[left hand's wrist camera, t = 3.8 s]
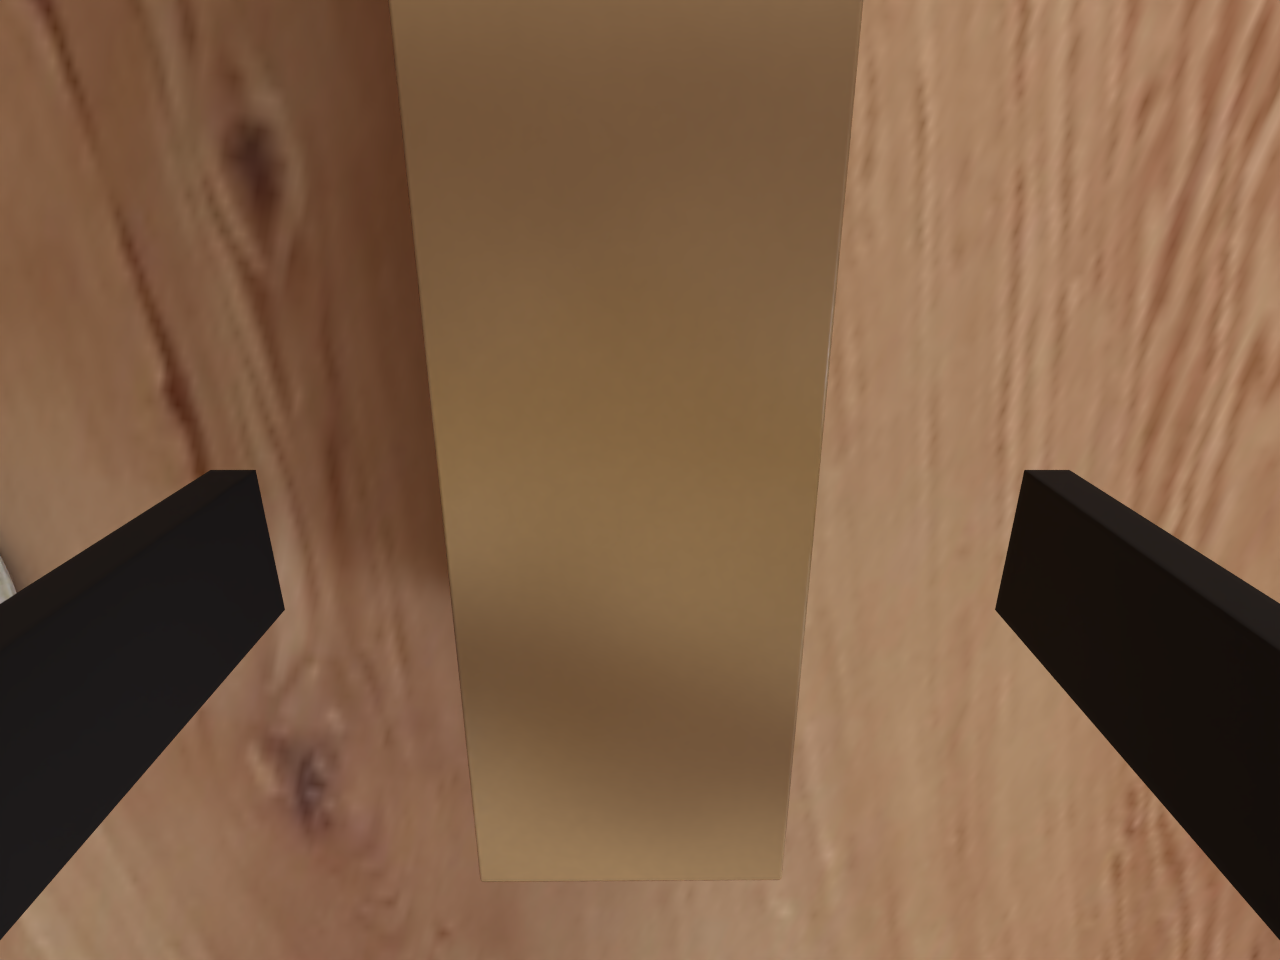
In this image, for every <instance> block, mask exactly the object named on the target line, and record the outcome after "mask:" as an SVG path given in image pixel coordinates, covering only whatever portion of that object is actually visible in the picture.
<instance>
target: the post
mask: <svg viewBox="0 0 1280 960" xmlns="http://www.w3.org/2000/svg"><path fill="white" fill-rule="evenodd" d="M388 2H389V12H390V21H391V31H392V40H393V50H394V59H395V69H396V78H397V88H398V98H399V107H400V117H401V126H402V136H403V145H404V155H405V164H406V174H407V183H408V193H409V203H410V212H411V222H412V231H413V241H414V250H415V260H416V269H417V279H418V288H419V298H420V307H421V317H422V327H423V336H424V346H425V355H426V365H427V374H428V384H429V393H430V403H431V412H432V422H433V432H434V441H435V451H436V460H437V470H438V479H439V489H440V498H441V508H442V517H443V527H444V537H445V546H446V556H447V565H448V575H449V584H450V594H451V603H452V613H453V622H454V632H455V642H456V651H457V661H458V670H459V680H460V689H461V699H462V708H463V718H464V727H465V737H466V747H467V756H468V766H469V775H470V785H471V794H472V804H473V813H474V823H475V832H476V842H477V852H478V861H479V871H480V879H481V881H482V882H542V881H693V880H780V879H781V878H782V870H783V859H784V848H785V837H786V826H787V816H788V805H789V794H790V783H791V773H792V762H793V751H794V740H795V729H796V719H797V708H798V697H799V686H800V676H801V665H802V654H803V643H804V633H805V622H806V611H807V600H808V589H809V579H810V568H811V557H812V546H813V536H814V525H815V514H816V503H817V492H818V482H819V471H820V460H821V449H822V439H823V428H824V417H825V406H826V395H827V385H828V374H829V363H830V352H831V342H832V331H833V320H834V309H835V298H836V288H837V277H838V266H839V255H840V245H841V234H842V223H843V212H844V202H845V191H846V180H847V169H848V158H849V148H850V137H851V126H852V115H853V105H854V94H855V83H856V72H857V61H858V51H859V40H860V29H861V18H862V8H863V0H388Z"/></svg>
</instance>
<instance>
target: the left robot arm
mask: <svg viewBox="0 0 1280 960" xmlns="http://www.w3.org/2000/svg"><path fill="white" fill-rule="evenodd" d="M284 610H285V608H284V603H283V599H282V594H281V589H280V584H279V579H278V575H277V570H276V565H275V560H274V556H273V551H272V546H271V541H270V537H269V532H268V527H267V522H266V518H265V513H264V508H263V503H262V499H261V494H260V489H259V484H258V480H257V475H256V470H210V471H208V472H207V473H205V474H204V475H202V476H201V477H199V478H197V479H196V480H194V481H193V482H191V483H190V484H188V485H186V486H185V487H183V488H182V489H180V490H179V491H177V492H175V493H174V494H172V495H171V496H169V497H167V498H166V499H164V500H163V501H161V502H160V503H158V504H156V505H155V506H153V507H152V508H150V509H149V510H147V511H145V512H144V513H142V514H141V515H139V516H138V517H136V518H134V519H133V520H131V521H130V522H128V523H127V524H125V525H123V526H122V527H120V528H119V529H117V530H116V531H114V532H112V533H111V534H109V535H108V536H106V537H104V538H103V539H101V540H100V541H98V542H97V543H95V544H93V545H92V546H90V547H89V548H87V549H86V550H84V551H82V552H81V553H79V554H78V555H76V556H75V557H73V558H71V559H70V560H68V561H67V562H65V563H64V564H62V565H60V566H59V567H57V568H56V569H54V570H53V571H51V572H49V573H48V574H46V575H45V576H43V577H42V578H40V579H38V580H37V581H35V582H34V583H32V584H30V585H29V586H27V587H26V588H24V589H23V590H21V591H19V592H18V593H16V594H15V595H13V596H12V597H10V598H8V599H7V600H5V601H4V602H2V603H1V604H0V940H1V939H2V937H3V936H4V935H5V934H6V933H7V932H8V930H9V929H10V928H11V927H12V926H13V925H14V923H15V922H16V921H17V920H18V919H19V918H20V917H21V915H22V914H23V913H24V912H25V911H26V910H27V908H28V907H29V906H30V905H31V904H32V903H33V901H34V900H35V899H36V898H37V897H38V896H39V894H40V893H41V892H42V891H43V890H44V889H45V888H46V886H47V885H48V884H49V883H50V882H51V881H52V879H53V878H54V877H55V876H56V875H57V874H58V872H59V871H60V870H61V869H62V868H63V867H64V865H65V864H66V863H67V862H68V861H69V860H70V858H71V857H72V856H73V855H74V854H75V853H76V852H77V850H78V849H79V848H80V847H81V846H82V845H83V843H84V842H85V841H86V840H87V839H88V838H89V836H90V835H91V834H92V833H93V832H94V831H95V829H96V828H97V827H98V826H99V825H100V824H101V822H102V821H103V820H104V819H105V818H106V817H107V816H108V814H109V813H110V812H111V811H112V810H113V809H114V807H115V806H116V805H117V804H118V803H119V802H120V800H121V799H122V798H123V797H124V796H125V795H126V793H127V792H128V791H129V790H130V789H131V788H132V787H133V785H134V784H135V783H136V782H137V781H138V780H139V778H140V777H141V776H142V775H143V774H144V773H145V771H146V770H147V769H148V768H149V767H150V766H151V764H152V763H153V762H154V761H155V760H156V759H157V757H158V756H159V755H160V754H161V753H162V752H163V751H164V749H165V748H166V747H167V746H168V745H169V744H170V742H171V741H172V740H173V739H174V738H175V737H176V735H177V734H178V733H179V732H180V731H181V730H182V728H183V727H184V726H185V725H186V724H187V723H188V722H189V720H190V719H191V718H192V717H193V716H194V715H195V713H196V712H197V711H198V710H199V709H200V708H201V706H202V705H203V704H204V703H205V702H206V701H207V699H208V698H209V697H210V696H211V695H212V694H213V692H214V691H215V690H216V689H217V688H218V687H219V686H220V684H221V683H222V682H223V681H224V680H225V679H226V677H227V676H228V675H229V674H230V673H231V672H232V670H233V669H234V668H235V667H236V666H237V665H238V663H239V662H240V661H241V660H242V659H243V658H244V657H245V655H246V654H247V653H248V652H249V651H250V650H251V648H252V647H253V646H254V645H255V644H256V643H257V641H258V640H259V639H260V638H261V637H262V636H263V634H264V633H265V632H266V631H267V630H268V629H269V627H270V626H271V625H272V624H273V623H274V622H275V621H276V619H277V618H278V617H279V616H280V615H281V614H282V612H283V611H284ZM995 610H996V611H997V612H998V614H999V615H1000V616H1001V617H1002V618H1003V619H1004V621H1005V622H1006V623H1007V624H1008V625H1009V626H1010V627H1011V629H1012V630H1013V631H1014V632H1015V633H1016V634H1017V636H1018V637H1019V638H1020V639H1021V640H1022V641H1023V643H1024V644H1025V645H1026V646H1027V647H1028V648H1029V650H1030V651H1031V652H1032V653H1033V654H1034V655H1035V657H1036V658H1037V659H1038V660H1039V661H1040V662H1041V663H1042V665H1043V666H1044V667H1045V668H1046V669H1047V670H1048V672H1049V673H1050V674H1051V675H1052V676H1053V677H1054V679H1055V680H1056V681H1057V682H1058V683H1059V684H1060V686H1061V687H1062V688H1063V689H1064V690H1065V691H1066V692H1067V694H1068V695H1069V696H1070V697H1071V698H1072V699H1073V701H1074V702H1075V703H1076V704H1077V705H1078V706H1079V708H1080V709H1081V710H1082V711H1083V712H1084V713H1085V715H1086V716H1087V717H1088V718H1089V719H1090V720H1091V722H1092V723H1093V724H1094V725H1095V726H1096V727H1097V728H1098V730H1099V731H1100V732H1101V733H1102V734H1103V735H1104V737H1105V738H1106V739H1107V740H1108V741H1109V742H1110V744H1111V745H1112V746H1113V747H1114V748H1115V749H1116V751H1117V752H1118V753H1119V754H1120V755H1121V756H1122V757H1123V759H1124V760H1125V761H1126V762H1127V763H1128V764H1129V766H1130V767H1131V768H1132V769H1133V770H1134V771H1135V773H1136V774H1137V775H1138V776H1139V777H1140V778H1141V780H1142V781H1143V782H1144V783H1145V784H1146V785H1147V787H1148V788H1149V789H1150V790H1151V791H1152V792H1153V793H1154V795H1155V796H1156V797H1157V798H1158V799H1159V800H1160V802H1161V803H1162V804H1163V805H1164V806H1165V807H1166V809H1167V810H1168V811H1169V812H1170V813H1171V814H1172V816H1173V817H1174V818H1175V819H1176V820H1177V821H1178V822H1179V824H1180V825H1181V826H1182V827H1183V828H1184V829H1185V831H1186V832H1187V833H1188V834H1189V835H1190V836H1191V838H1192V839H1193V840H1194V841H1195V842H1196V843H1197V845H1198V846H1199V847H1200V848H1201V849H1202V850H1203V852H1204V853H1205V854H1206V855H1207V856H1208V857H1209V858H1210V860H1211V861H1212V862H1213V863H1214V864H1215V865H1216V867H1217V868H1218V869H1219V870H1220V871H1221V872H1222V874H1223V875H1224V876H1225V877H1226V878H1227V879H1228V881H1229V882H1230V883H1231V884H1232V885H1233V886H1234V888H1235V889H1236V890H1237V891H1238V892H1239V893H1240V894H1241V896H1242V897H1243V898H1244V899H1245V900H1246V901H1247V903H1248V904H1249V905H1250V906H1251V907H1252V908H1253V910H1254V911H1255V912H1256V913H1257V914H1258V915H1259V917H1260V918H1261V919H1262V920H1263V921H1264V922H1265V923H1266V925H1267V926H1268V927H1269V928H1270V929H1271V930H1272V932H1273V933H1274V934H1275V935H1276V936H1277V937H1278V939H1279V940H1280V604H1279V603H1278V602H1276V601H1275V600H1273V599H1272V598H1270V597H1268V596H1267V595H1265V594H1264V593H1262V592H1261V591H1259V590H1257V589H1256V588H1254V587H1253V586H1251V585H1250V584H1248V583H1246V582H1245V581H1243V580H1242V579H1240V578H1238V577H1237V576H1235V575H1234V574H1232V573H1231V572H1229V571H1227V570H1226V569H1224V568H1223V567H1221V566H1220V565H1218V564H1216V563H1215V562H1213V561H1212V560H1210V559H1209V558H1207V557H1205V556H1204V555H1202V554H1201V553H1199V552H1198V551H1196V550H1194V549H1193V548H1191V547H1190V546H1188V545H1187V544H1185V543H1183V542H1182V541H1180V540H1179V539H1177V538H1176V537H1174V536H1172V535H1171V534H1169V533H1168V532H1166V531H1164V530H1163V529H1161V528H1160V527H1158V526H1157V525H1155V524H1153V523H1152V522H1150V521H1149V520H1147V519H1146V518H1144V517H1142V516H1141V515H1139V514H1138V513H1136V512H1135V511H1133V510H1131V509H1130V508H1128V507H1127V506H1125V505H1124V504H1122V503H1120V502H1119V501H1117V500H1116V499H1114V498H1113V497H1111V496H1109V495H1108V494H1106V493H1105V492H1103V491H1101V490H1100V489H1098V488H1097V487H1095V486H1094V485H1092V484H1090V483H1089V482H1087V481H1086V480H1084V479H1083V478H1081V477H1079V476H1078V475H1076V474H1075V473H1073V472H1072V471H1070V470H1024V475H1023V480H1022V484H1021V489H1020V494H1019V499H1018V503H1017V508H1016V513H1015V518H1014V522H1013V527H1012V532H1011V537H1010V541H1009V546H1008V551H1007V556H1006V560H1005V565H1004V570H1003V575H1002V579H1001V584H1000V589H999V594H998V599H997V603H996V608H995Z"/></svg>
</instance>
